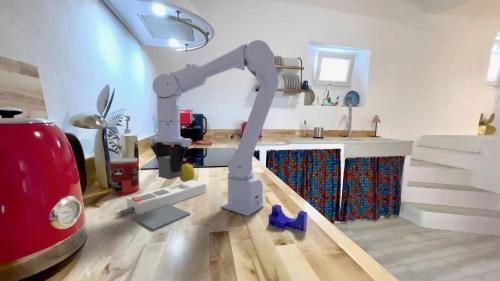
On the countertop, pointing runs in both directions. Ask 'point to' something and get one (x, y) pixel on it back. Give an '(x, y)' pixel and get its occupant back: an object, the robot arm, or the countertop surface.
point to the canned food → (124, 176)
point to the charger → (167, 168)
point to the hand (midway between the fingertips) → (170, 170)
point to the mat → (160, 217)
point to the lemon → (187, 172)
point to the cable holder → (287, 219)
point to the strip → (163, 197)
